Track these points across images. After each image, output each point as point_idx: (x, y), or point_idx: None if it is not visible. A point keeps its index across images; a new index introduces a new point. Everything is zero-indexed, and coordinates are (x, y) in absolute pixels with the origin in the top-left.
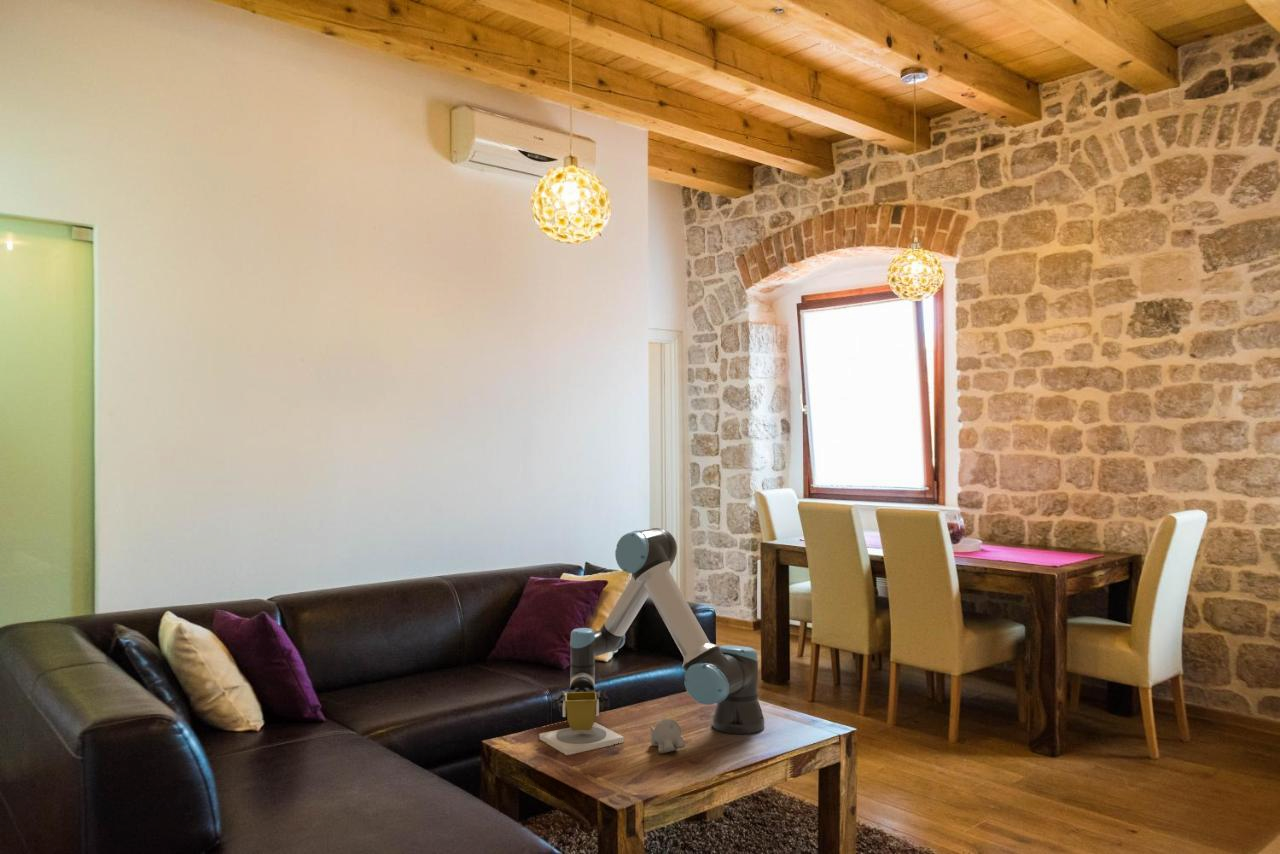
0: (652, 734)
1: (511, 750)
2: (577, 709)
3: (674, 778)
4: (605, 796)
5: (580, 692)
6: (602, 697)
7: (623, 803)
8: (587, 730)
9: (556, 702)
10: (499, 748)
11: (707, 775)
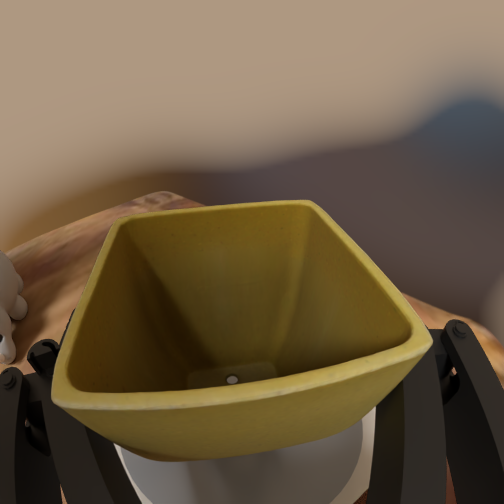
0: (5, 313)
1: (431, 316)
2: (241, 256)
3: (65, 236)
4: (174, 200)
5: (259, 384)
6: (37, 346)
7: (155, 194)
8: (214, 473)
9: (435, 331)
10: (463, 321)
11: (24, 245)
